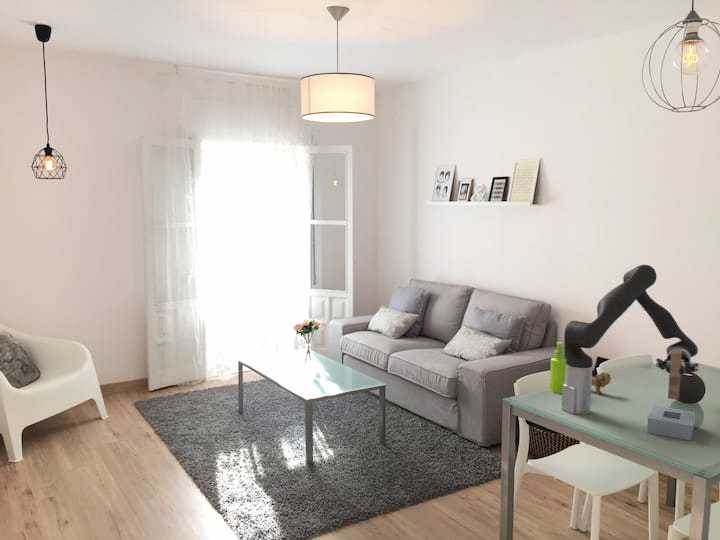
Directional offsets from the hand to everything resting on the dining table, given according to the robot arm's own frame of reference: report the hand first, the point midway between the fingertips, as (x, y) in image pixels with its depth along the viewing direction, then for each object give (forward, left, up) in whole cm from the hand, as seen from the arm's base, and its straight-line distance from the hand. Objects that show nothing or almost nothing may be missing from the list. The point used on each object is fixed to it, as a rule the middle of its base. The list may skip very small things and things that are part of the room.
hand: (674, 370), depth 204 cm
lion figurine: (+5, +41, -20) cm, 46 cm away
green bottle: (-8, +48, -20) cm, 52 cm away
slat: (+2, +2, -10) cm, 10 cm away
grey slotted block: (-2, -1, -20) cm, 20 cm away
